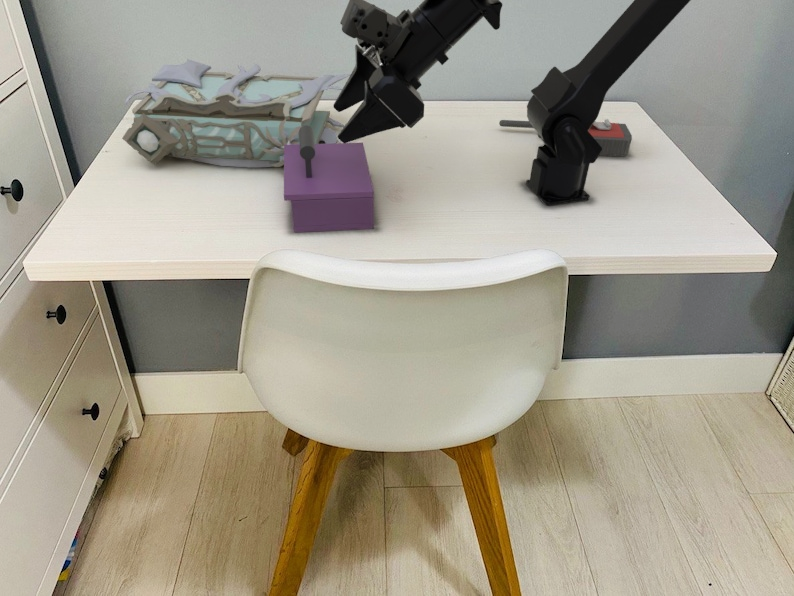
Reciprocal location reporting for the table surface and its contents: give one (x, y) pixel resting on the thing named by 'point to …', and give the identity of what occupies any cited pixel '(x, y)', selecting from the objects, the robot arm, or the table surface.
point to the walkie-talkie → (596, 135)
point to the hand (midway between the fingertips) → (338, 124)
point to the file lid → (325, 170)
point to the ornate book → (228, 115)
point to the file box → (333, 214)
